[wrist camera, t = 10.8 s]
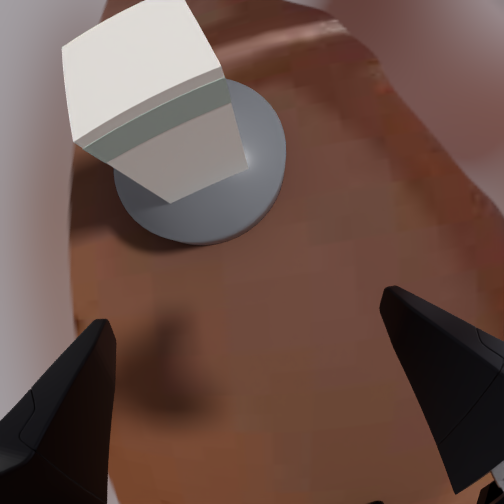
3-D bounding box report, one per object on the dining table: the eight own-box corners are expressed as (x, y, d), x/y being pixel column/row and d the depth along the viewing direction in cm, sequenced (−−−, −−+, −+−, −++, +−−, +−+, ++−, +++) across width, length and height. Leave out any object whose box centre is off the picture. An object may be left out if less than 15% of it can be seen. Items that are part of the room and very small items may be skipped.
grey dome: (313, 200, 20) (319, 189, 17) (165, 272, 21) (148, 273, 18) (242, 77, 21) (238, 54, 18) (115, 142, 22) (96, 128, 19)
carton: (248, 168, 18) (221, 66, 8) (170, 204, 18) (73, 142, 8) (218, 102, 18) (177, -14, 8) (146, 135, 18) (61, 47, 8)
